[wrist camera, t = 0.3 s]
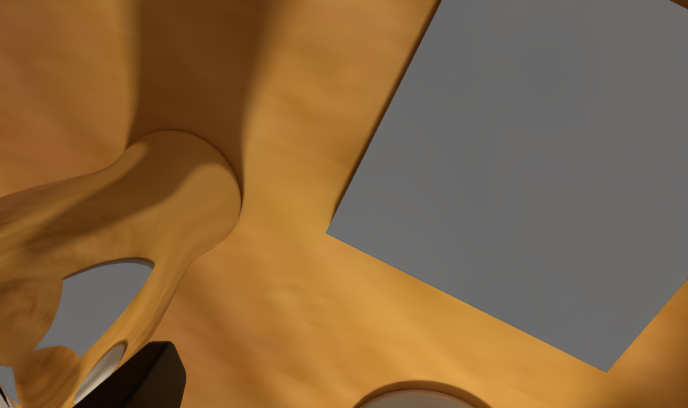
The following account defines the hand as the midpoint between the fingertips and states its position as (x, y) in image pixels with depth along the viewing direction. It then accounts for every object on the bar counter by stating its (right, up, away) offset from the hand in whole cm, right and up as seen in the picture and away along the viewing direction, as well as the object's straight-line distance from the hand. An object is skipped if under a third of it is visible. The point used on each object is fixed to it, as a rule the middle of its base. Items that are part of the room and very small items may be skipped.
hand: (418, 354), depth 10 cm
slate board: (+7, +4, +13) cm, 16 cm away
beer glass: (-9, +3, +17) cm, 20 cm away
